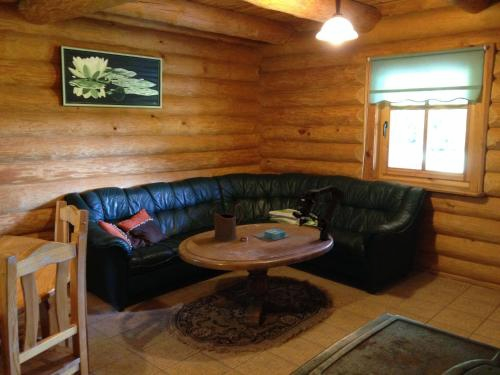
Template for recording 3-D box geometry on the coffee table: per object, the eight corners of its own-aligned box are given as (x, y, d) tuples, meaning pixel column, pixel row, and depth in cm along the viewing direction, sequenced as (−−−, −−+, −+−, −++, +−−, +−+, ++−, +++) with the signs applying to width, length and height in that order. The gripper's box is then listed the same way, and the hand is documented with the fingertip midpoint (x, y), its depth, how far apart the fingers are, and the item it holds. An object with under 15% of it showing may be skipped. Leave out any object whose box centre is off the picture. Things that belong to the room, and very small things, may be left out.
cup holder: (209, 237, 331) (208, 204, 327) (237, 232, 342) (237, 201, 338) (219, 243, 315) (218, 209, 311) (248, 238, 326) (248, 206, 322)
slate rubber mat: (274, 230, 348) (274, 230, 347) (290, 236, 331) (290, 235, 331) (251, 235, 335) (251, 234, 335) (267, 241, 319) (267, 241, 319)
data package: (274, 234, 319) (263, 231, 328) (274, 240, 320) (263, 236, 329) (286, 231, 327) (275, 228, 336) (286, 237, 328) (275, 234, 337)
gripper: (311, 204, 323) (303, 222, 328) (292, 200, 313) (284, 219, 317) (320, 211, 314) (311, 230, 319) (300, 208, 304) (291, 227, 309)
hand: (299, 226), depth 316 cm, fingers closed
